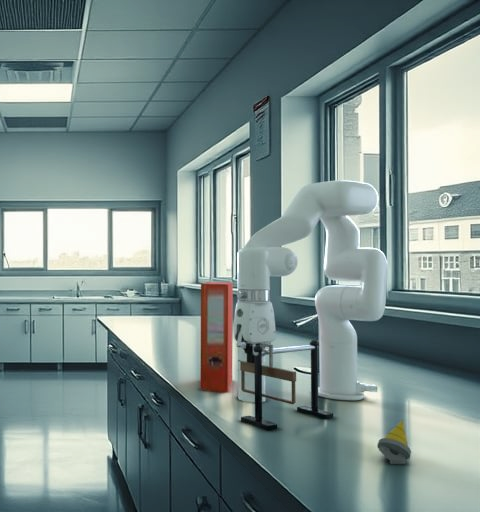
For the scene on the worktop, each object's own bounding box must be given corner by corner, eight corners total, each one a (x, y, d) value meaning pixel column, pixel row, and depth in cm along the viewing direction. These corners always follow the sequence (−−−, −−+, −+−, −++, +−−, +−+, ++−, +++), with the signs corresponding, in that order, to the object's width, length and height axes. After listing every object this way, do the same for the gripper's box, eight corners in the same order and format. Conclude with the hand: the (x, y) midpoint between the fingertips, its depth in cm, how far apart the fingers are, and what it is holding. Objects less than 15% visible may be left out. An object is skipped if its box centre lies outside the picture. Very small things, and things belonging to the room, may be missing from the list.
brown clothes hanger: (243, 390, 137) (243, 340, 137) (296, 404, 124) (296, 348, 124) (240, 391, 137) (239, 340, 137) (293, 405, 123) (292, 348, 123)
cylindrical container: (267, 403, 149) (267, 311, 150) (240, 401, 151) (239, 310, 151) (262, 396, 156) (261, 309, 157) (236, 395, 158) (235, 308, 158)
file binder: (233, 381, 177) (232, 282, 178) (228, 392, 161) (228, 284, 162) (207, 378, 180) (206, 282, 181) (200, 390, 165) (199, 283, 165)
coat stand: (304, 410, 142) (303, 337, 142) (333, 417, 135) (332, 341, 135) (240, 421, 132) (240, 343, 132) (268, 430, 124) (267, 348, 125)
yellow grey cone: (368, 460, 107) (382, 418, 112) (398, 475, 105) (410, 432, 110) (380, 451, 103) (393, 408, 107) (412, 467, 101) (423, 422, 105)
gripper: (244, 298, 130) (244, 375, 130) (286, 296, 137) (287, 370, 137) (220, 296, 137) (220, 370, 137) (262, 295, 144) (262, 365, 143)
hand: (254, 370), depth 137 cm, fingers closed
